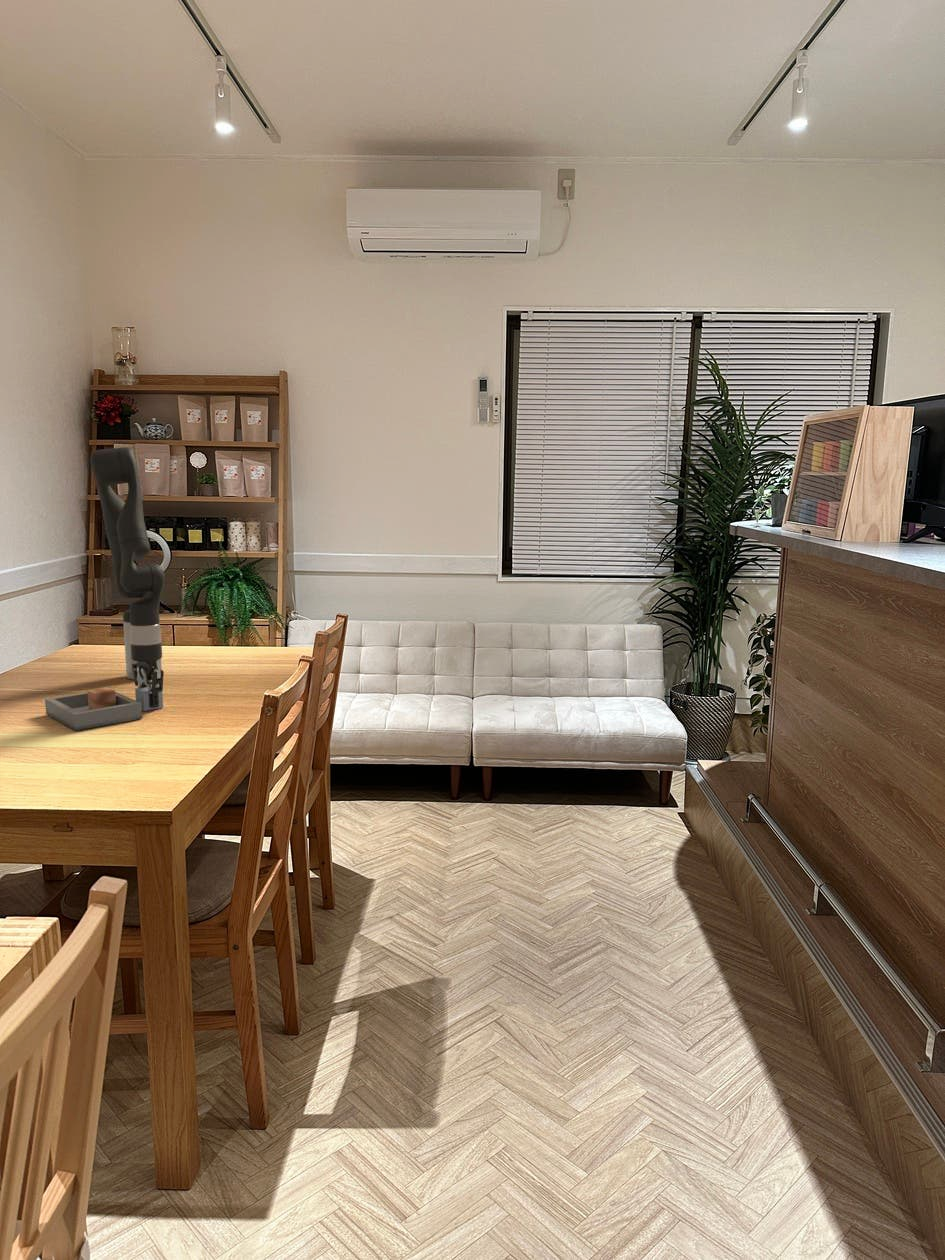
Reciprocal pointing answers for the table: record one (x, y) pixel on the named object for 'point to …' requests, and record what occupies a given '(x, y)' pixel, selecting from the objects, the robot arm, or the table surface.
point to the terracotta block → (101, 698)
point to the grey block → (147, 698)
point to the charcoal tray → (91, 711)
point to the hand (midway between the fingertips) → (149, 704)
